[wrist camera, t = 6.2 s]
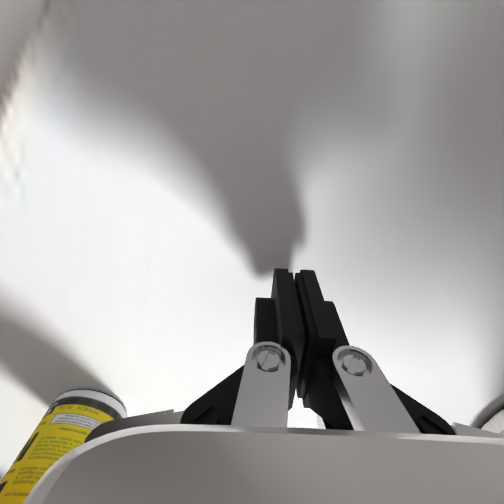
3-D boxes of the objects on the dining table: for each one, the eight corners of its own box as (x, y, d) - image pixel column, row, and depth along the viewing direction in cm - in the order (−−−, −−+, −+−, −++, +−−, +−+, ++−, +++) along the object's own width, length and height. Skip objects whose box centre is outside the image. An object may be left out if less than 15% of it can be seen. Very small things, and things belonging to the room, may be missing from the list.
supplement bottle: (52, 380, 18) (-95, 587, 10) (131, 393, 18) (46, 600, 11) (56, 426, 20) (-61, 623, 12) (127, 437, 20) (54, 633, 13)
